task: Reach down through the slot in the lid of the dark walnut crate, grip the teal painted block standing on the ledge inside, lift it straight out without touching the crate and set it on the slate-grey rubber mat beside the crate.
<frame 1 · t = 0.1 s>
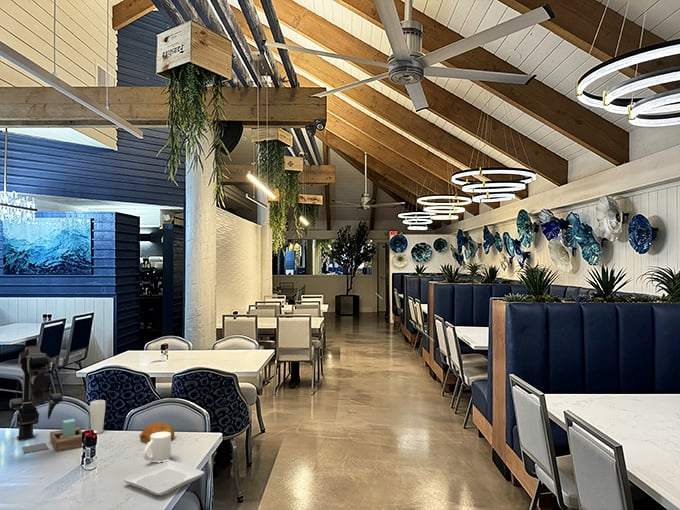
hand: (36, 420, 206), 15 cm above the table, tool pointing down, fingers open, 9 cm apart
drinking glass: (96, 433, 235), on the table
crate: (68, 444, 219), on the table
block: (68, 436, 219), point 3 cm above the table, touching crate
salad plate: (164, 484, 180), on the table
croissant: (156, 439, 228), on the table
mug: (156, 461, 201), on the table
mat: (35, 448, 213), on the table
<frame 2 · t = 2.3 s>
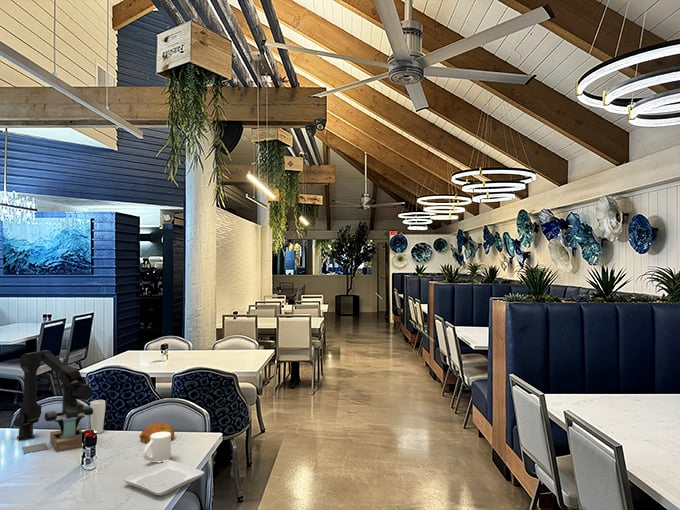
hand: (68, 432, 219), 5 cm above the table, tool pointing down, fingers closed on block, 4 cm apart
block: (68, 436, 219), point 3 cm above the table, touching crate, gripper
everything else where it was.
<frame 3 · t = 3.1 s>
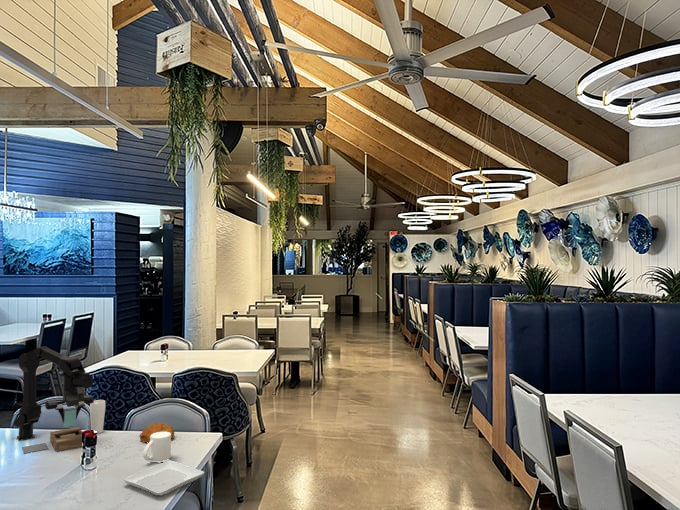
hand: (69, 421, 219), 10 cm above the table, tool pointing down, fingers closed on block, 4 cm apart
block: (69, 425, 219), point 9 cm above the table, touching gripper
everything else where it was.
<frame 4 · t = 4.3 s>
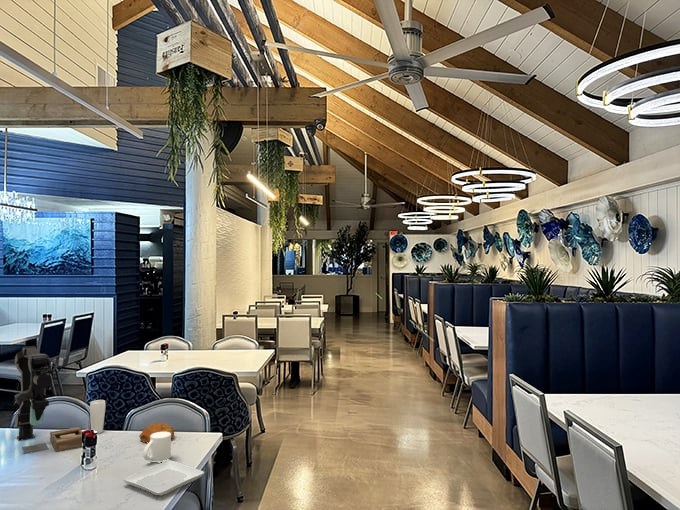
hand: (36, 419, 214), 13 cm above the table, tool pointing down, fingers closed on block, 4 cm apart
block: (36, 423, 214), point 11 cm above the table, touching gripper
everything else where it was.
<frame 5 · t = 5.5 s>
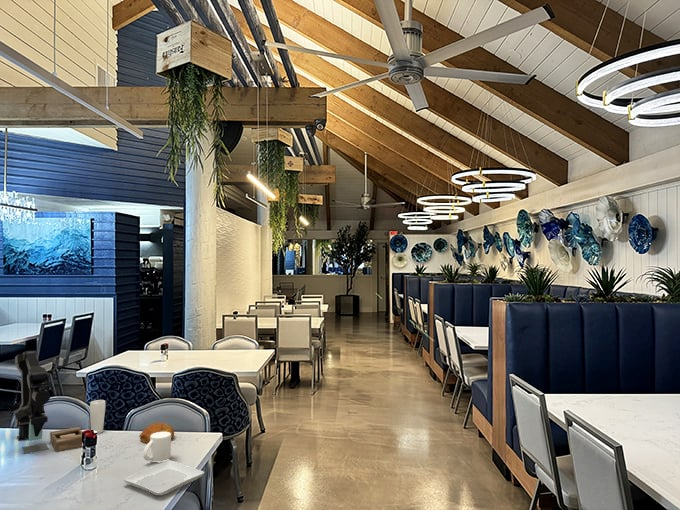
hand: (35, 434, 213), 6 cm above the table, tool pointing down, fingers closed on block, 4 cm apart
block: (35, 438, 213), point 4 cm above the table, touching gripper
everything else where it was.
when the fingers open (3 cm above the table, at t = 6.4 s): block drops 1 cm, resting on mat.
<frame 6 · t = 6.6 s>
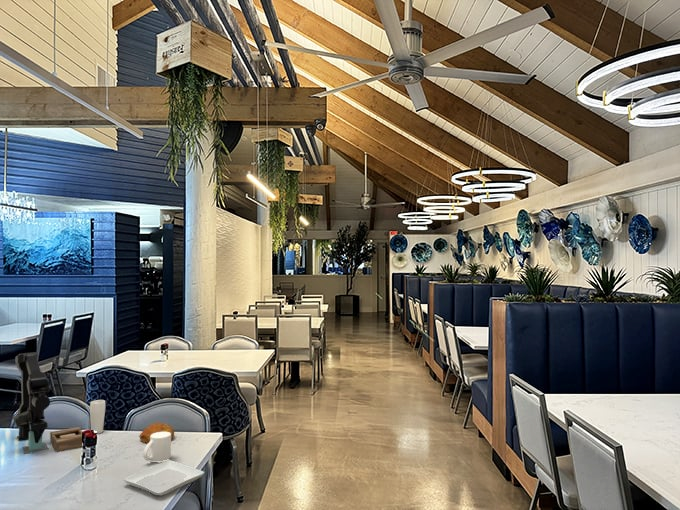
hand: (35, 440, 213), 3 cm above the table, tool pointing down, fingers open, 7 cm apart
block: (35, 447, 213), resting on mat
everything else where it was.
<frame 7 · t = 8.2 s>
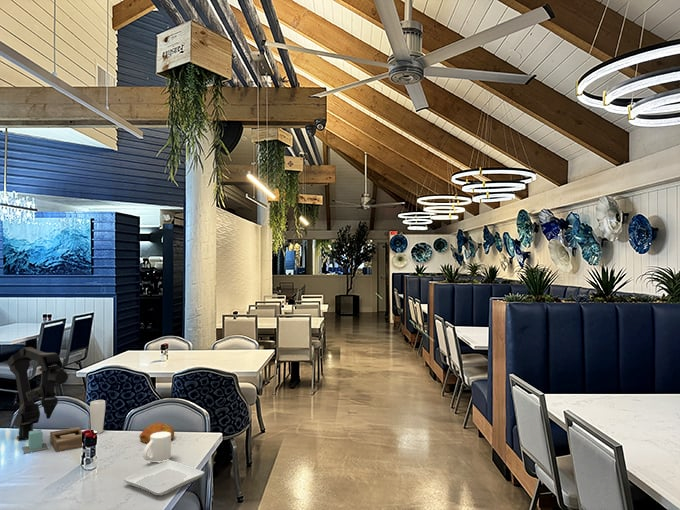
hand: (47, 415, 219), 13 cm above the table, tool pointing down, fingers open, 9 cm apart
nothing on the table moved.
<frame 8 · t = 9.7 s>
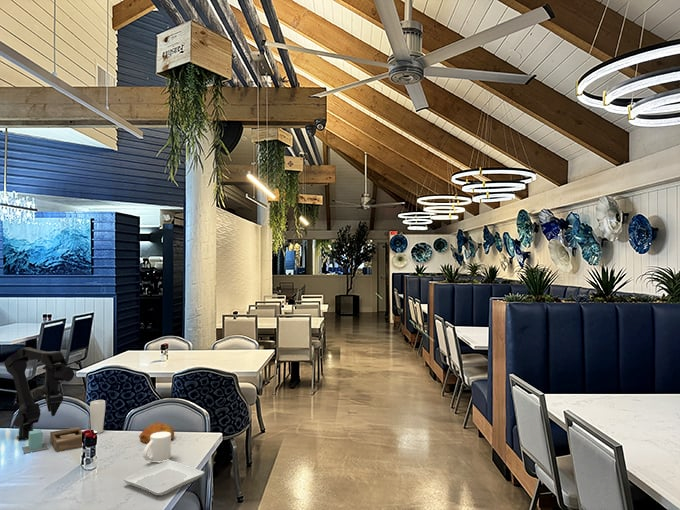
hand: (51, 413, 221), 13 cm above the table, tool pointing down, fingers open, 9 cm apart
nothing on the table moved.
at the end: block inside the target area on the mat (0.1 cm from its centre), point 0.4 cm above the mat's base; block tilted 0°; block touching mat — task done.
